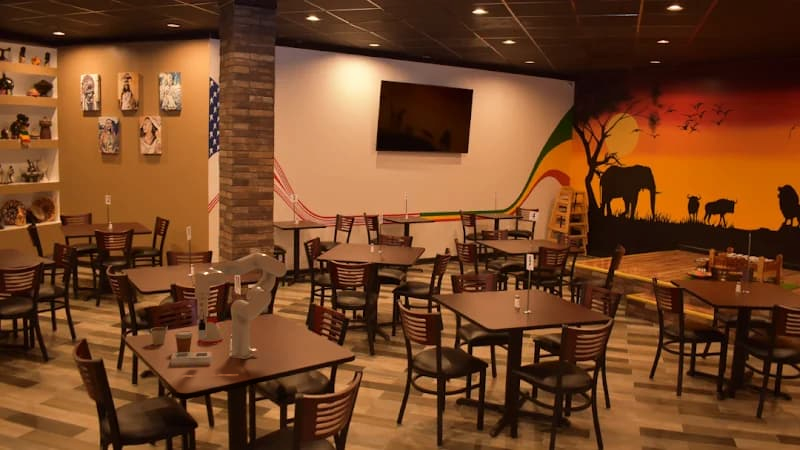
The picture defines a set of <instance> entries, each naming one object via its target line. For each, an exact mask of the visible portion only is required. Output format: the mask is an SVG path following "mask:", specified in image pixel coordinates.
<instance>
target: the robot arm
mask: <svg viewBox="0 0 800 450" xmlns="http://www.w3.org/2000/svg"><path fill="white" fill-rule="evenodd" d="M257 269H260V270H262V276H261V278H260V279H259V281H257V282H256V283H255V284H254V286H252V287H251V288H250V289H249V290H248V291H247V292H246V295H245V296H246V300H243V299H237V300H234V302H233V303H231V306H230V314H231V315H230V316H231V320H232V321H231V322H232V323H231V324H232V325H231V352H230V353H228V356H229V357H231V358H235V359H236V358H237V359H240V360H247V359H250V358H251V357H252V356H253V354H258V349H256V348H251V346H250V338H251V337H250V330H251V329H250V328H251V327H250V326H251V324H250V321H253V320H255V319H257V317H258V316H259V315H261V313H263V311H264V310H265V309H266V308H267V307H269V305H270V304H271V301H272V294H271V293H270V292H271V290H273V288H274V286H275V284H276V280H277V279H276V278H281V277H284V276H285V275H286V274H287V271H288V268H287V266H286V264H285V263H284V262H282V261H280V260H278V259H276V258H273V257H272V256H270V255H268V254H265V253H261V252H253V253H250V254H248V255H246V256H243V257H240V258H238V259H235V260H230V261H227V262H223V263H219V264H216V265H213V266H210V267H209V268H207V269H206V270H205V271H196V272H195V274H194V299H196V301H197V305H196V306H197V310H196V311H197V317H198V319H199V330H205V318H208V317H209V299H210V298H211V292H210V291H211V288H210V287H211V286H221V285H222V284H224V283H226V279H227V278H226V277H227V276H241V275H244V274H246V273H249V272H251V271H253V270H257ZM203 318H204V319H203Z"/></svg>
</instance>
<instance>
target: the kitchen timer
mask: <svg viewBox="0 0 800 450" xmlns="http://www.w3.org/2000/svg"><path fill="white" fill-rule="evenodd" d="M213 317H214V318H213ZM206 318H207V336H206V338H198V343H199V344H202V345H203V344H204V345H215V344H214V343H216V344H219V343H218V342H220V343H222V342H223V341H222V340H223V339H224V338H223V333H222V330H221V327H220V326H219V325H218V324H217V322H218V321H219V318H218V319H217V317H216V316H210V315H208V317H206ZM221 341H222V342H221Z"/></svg>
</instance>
